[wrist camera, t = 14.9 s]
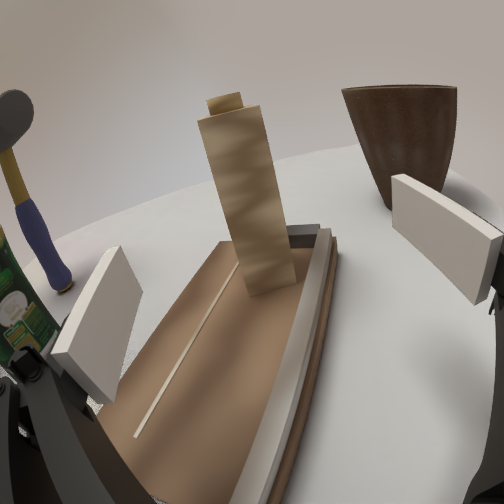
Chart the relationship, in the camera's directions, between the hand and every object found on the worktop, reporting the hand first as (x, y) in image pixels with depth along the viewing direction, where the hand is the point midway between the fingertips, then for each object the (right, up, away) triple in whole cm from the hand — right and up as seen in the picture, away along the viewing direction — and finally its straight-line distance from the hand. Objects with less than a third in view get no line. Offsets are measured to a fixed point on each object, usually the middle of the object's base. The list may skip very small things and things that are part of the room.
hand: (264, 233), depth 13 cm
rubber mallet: (-29, -6, +25) cm, 38 cm away
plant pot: (+21, +6, +22) cm, 31 cm away
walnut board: (-2, -8, +9) cm, 12 cm away
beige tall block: (+1, -3, +13) cm, 13 cm away
